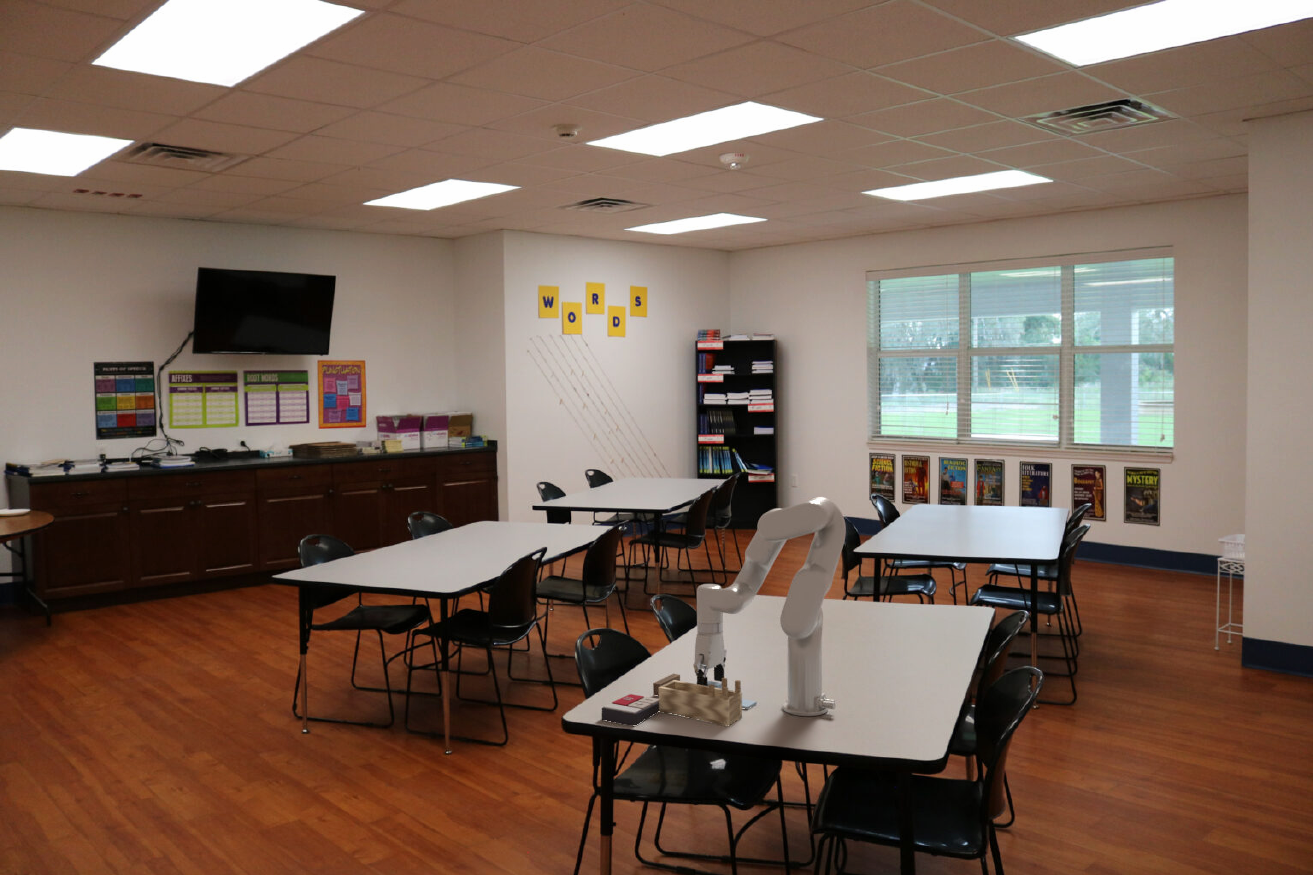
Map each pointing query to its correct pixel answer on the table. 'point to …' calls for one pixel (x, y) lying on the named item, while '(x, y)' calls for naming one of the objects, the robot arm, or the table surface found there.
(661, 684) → the brown wooden block
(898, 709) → the table surface
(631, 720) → the grey red box
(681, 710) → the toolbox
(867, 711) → the table surface
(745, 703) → the lid
